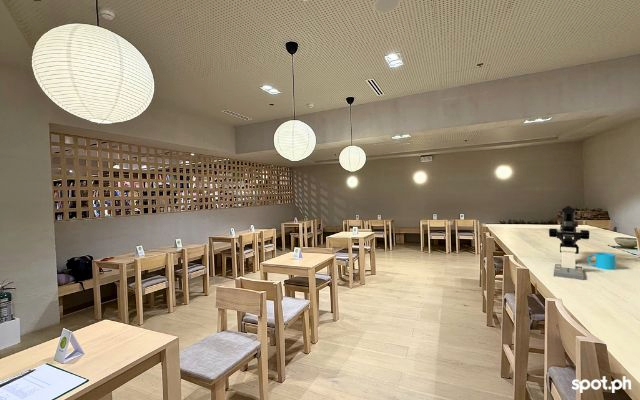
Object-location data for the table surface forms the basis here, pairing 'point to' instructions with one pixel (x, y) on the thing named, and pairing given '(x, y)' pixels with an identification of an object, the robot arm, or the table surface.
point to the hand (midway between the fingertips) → (568, 244)
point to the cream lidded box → (568, 257)
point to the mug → (604, 261)
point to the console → (568, 272)
